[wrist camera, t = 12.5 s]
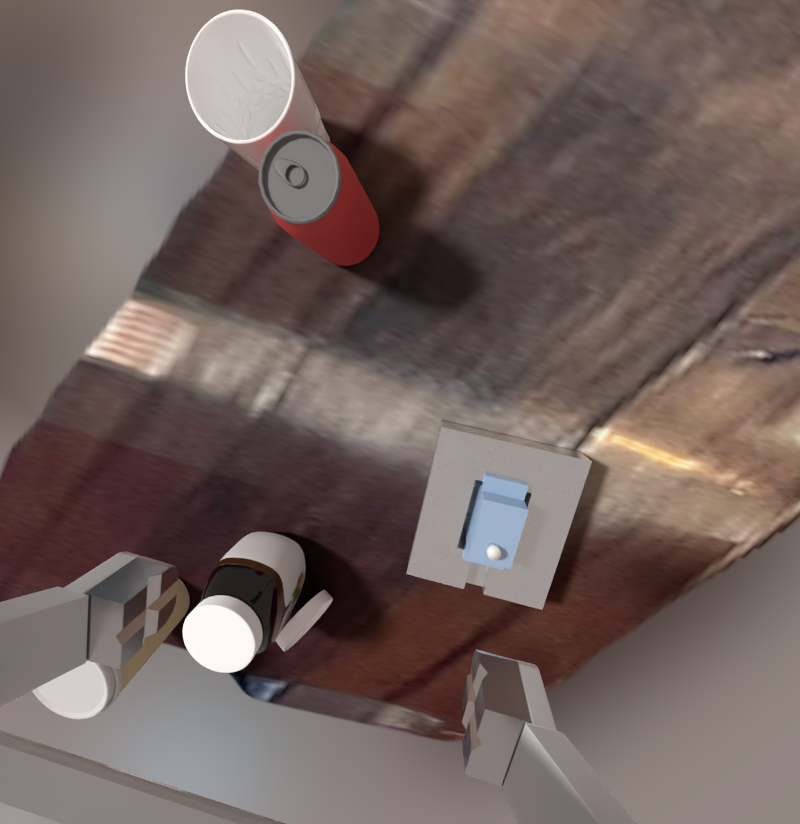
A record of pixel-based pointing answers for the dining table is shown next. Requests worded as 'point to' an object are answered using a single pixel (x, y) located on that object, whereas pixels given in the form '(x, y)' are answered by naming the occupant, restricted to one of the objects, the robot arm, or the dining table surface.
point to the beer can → (318, 197)
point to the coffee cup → (105, 673)
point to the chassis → (452, 500)
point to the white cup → (248, 84)
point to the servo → (495, 522)
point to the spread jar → (251, 603)
